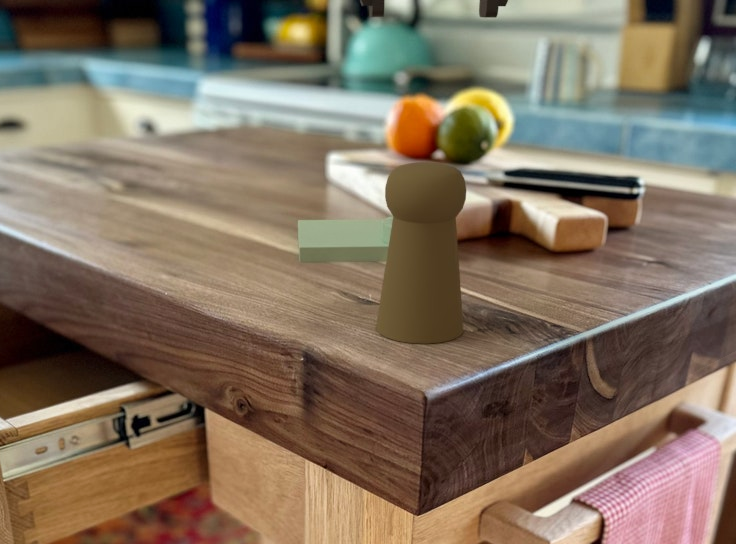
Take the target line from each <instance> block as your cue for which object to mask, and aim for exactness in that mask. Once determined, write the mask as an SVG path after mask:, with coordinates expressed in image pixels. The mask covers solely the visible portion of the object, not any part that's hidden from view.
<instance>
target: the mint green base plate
mask: <svg viewBox="0 0 736 544" xmlns="http://www.w3.org/2000/svg"><path fill="white" fill-rule="evenodd" d="M392 222H393V215H391V216H388V217H386V218H375V219H373V218H372V219H371V218H370V219H369V218H368V219H367V218H365V219H364V218H362V219H298V220H297V240H298V242H297V243H298V259H299V260H298V261H299V263H346V262H347V263H349V262H350V263H351V262H354V263H356V262H386V260H387V253H388V247H389V241H390V234H391V228H392Z"/></svg>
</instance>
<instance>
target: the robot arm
mask: <svg viewBox="0 0 736 544" xmlns="http://www.w3.org/2000/svg"><path fill="white" fill-rule="evenodd" d="M385 1H386V0H359V3H360V5H361V7H368V10H369V14H368V15H369V17H370V18H384V17H385ZM508 3H509V0H479V3H478V4H479V5H478V7H479V8H478V15H479V17H480V18H484V19H485V18H486V19H487V18H497V17H498V14H499V7H506V6H507V5H508Z"/></svg>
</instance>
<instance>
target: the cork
mask: <svg viewBox="0 0 736 544" xmlns="http://www.w3.org/2000/svg"><path fill="white" fill-rule="evenodd" d="M384 197H385V203H386V207H387V209H388V210H389V212H390V213H391V216H393V222H392V228H391V234H390V241H389V247H388V253H387V260H386V261H385V267H384V272H383V279H382V285H381V292H380V299H379V304H378V311H377V315H376V316H377V318H376V323H375V324H376V325H375V330H376V331H377V333H378V334H380V335H381V336H383V337H385V338H386V339H390V340H393V341H397V342H402V343H409V344H423V345H424V344H426V345H428V344H439V343H445V342H449V341H453V340H454V339H457V338H460V337H461V335H462V334H463V333H464V331H465V330H464V318H463V302H462V289H461V274H460V260H459V246H458V245H459V244H458V231H457V230H458V229H457V217H458V216H459V214H460V213H461V211H462V210H464V207H465V202H466V200H467V185H466V180H465V177H464V175H463V173H462V171H461V170H460V169H458V168H456V167H455V166H453V165H449V164H445V163H441V162H435V161H434V162H432V161H418V162H410V163H406V164H401V165H399V166H397V167H395V168H394V169H392V170H391V171H390V173H389V175H388V177H387V178H386V183H385V188H384Z"/></svg>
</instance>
